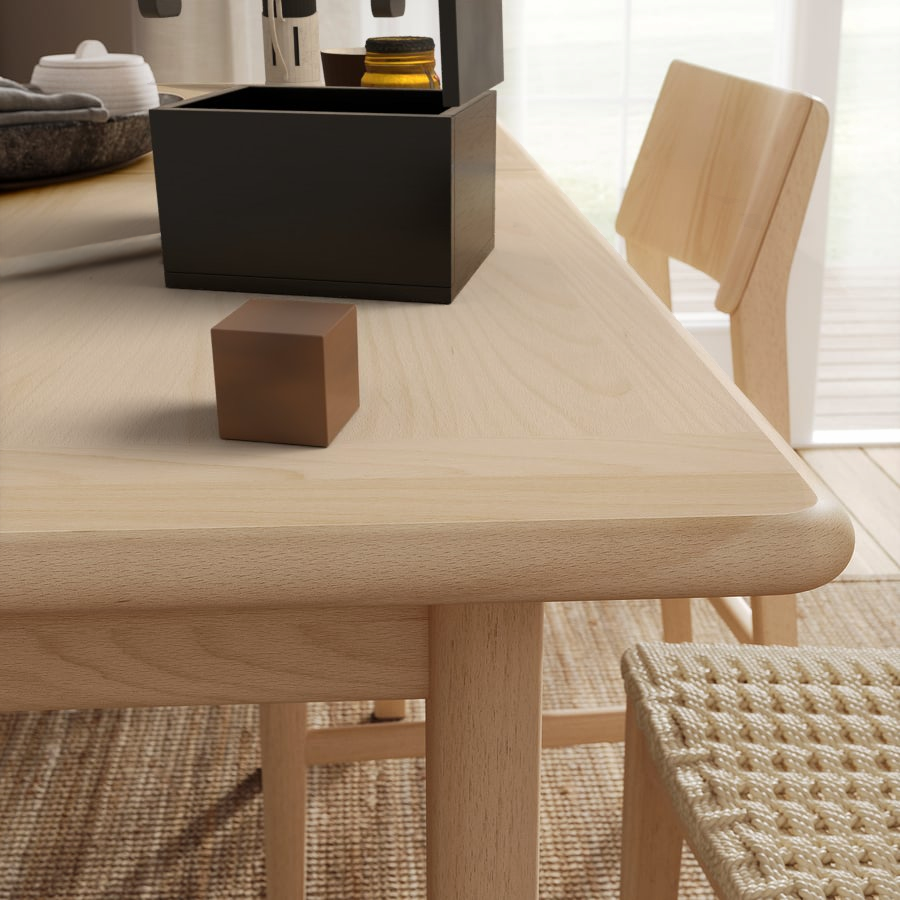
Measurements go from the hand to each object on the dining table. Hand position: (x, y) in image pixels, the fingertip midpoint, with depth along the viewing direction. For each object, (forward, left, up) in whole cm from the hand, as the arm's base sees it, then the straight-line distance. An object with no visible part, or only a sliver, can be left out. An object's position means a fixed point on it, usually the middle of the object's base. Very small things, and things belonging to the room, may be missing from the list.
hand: (272, 17), depth 42 cm
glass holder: (-103, +77, -16) cm, 129 cm away
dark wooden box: (-19, +18, -16) cm, 30 cm away
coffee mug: (-45, +42, -16) cm, 64 cm away
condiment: (-33, +36, -16) cm, 51 cm away
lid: (-13, +22, +4) cm, 26 cm away
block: (0, 0, -16) cm, 16 cm away
